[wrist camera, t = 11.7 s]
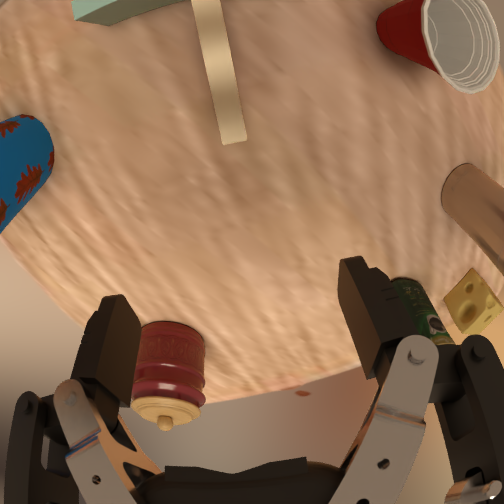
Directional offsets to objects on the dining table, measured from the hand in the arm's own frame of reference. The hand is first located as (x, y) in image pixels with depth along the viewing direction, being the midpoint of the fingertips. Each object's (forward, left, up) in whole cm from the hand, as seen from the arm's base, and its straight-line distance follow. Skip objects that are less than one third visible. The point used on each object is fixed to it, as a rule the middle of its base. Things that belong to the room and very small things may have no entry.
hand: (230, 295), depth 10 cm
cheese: (-60, -4, -24) cm, 65 cm away
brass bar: (+7, -8, -23) cm, 26 cm away
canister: (-11, +37, -24) cm, 45 cm away
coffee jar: (-41, +6, -24) cm, 48 cm away
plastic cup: (-8, -22, -24) cm, 33 cm away
